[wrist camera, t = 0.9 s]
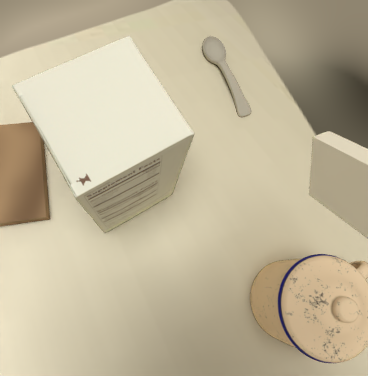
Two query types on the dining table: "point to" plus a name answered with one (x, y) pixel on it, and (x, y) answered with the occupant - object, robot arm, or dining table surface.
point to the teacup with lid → (314, 305)
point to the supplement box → (109, 130)
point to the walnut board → (22, 175)
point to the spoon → (225, 72)
